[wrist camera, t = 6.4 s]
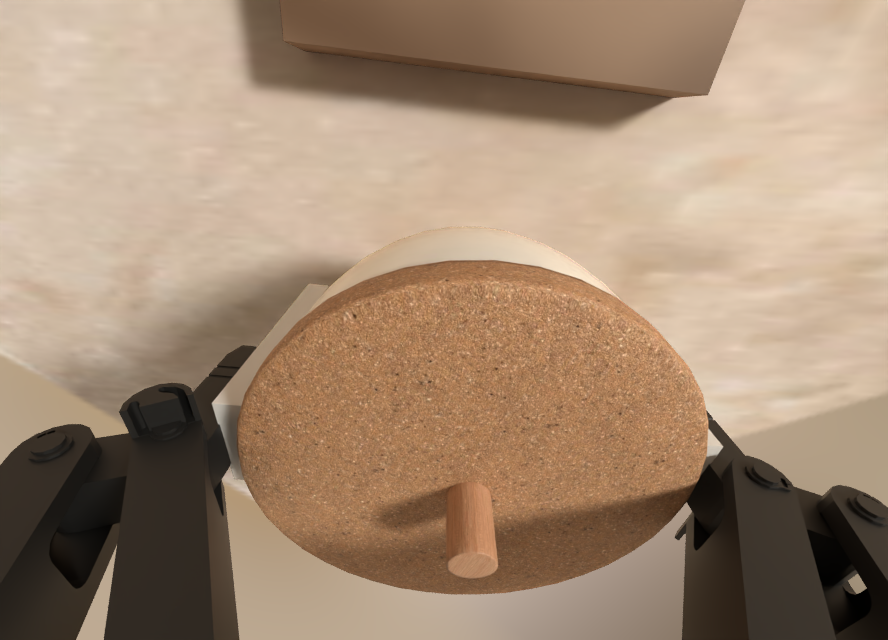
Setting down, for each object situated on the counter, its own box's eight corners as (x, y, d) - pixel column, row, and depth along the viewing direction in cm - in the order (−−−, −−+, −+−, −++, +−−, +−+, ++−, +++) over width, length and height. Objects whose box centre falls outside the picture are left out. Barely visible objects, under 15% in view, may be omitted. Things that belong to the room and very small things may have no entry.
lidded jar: (308, 375, 17) (176, 625, 9) (372, 135, 12) (195, 195, 4) (514, 437, 19) (564, 690, 10) (647, 254, 14) (941, 471, 5)
